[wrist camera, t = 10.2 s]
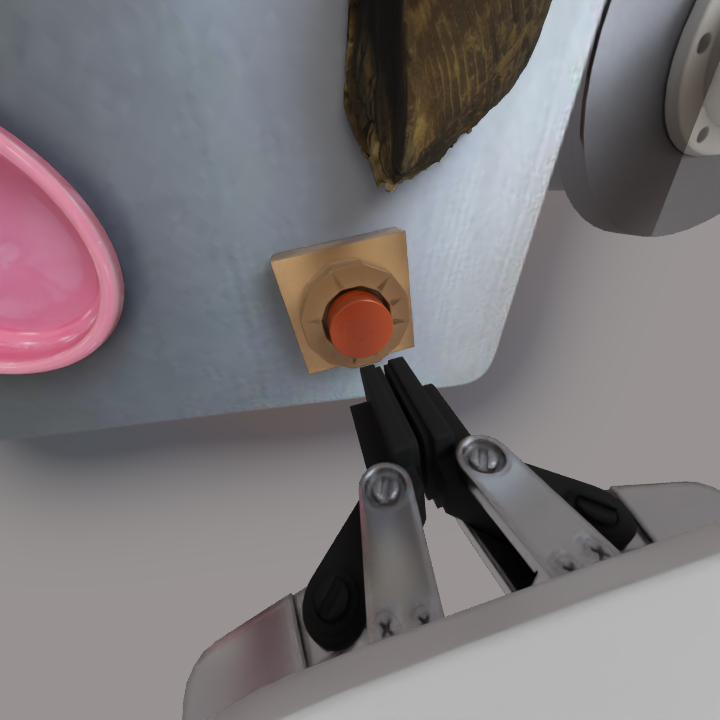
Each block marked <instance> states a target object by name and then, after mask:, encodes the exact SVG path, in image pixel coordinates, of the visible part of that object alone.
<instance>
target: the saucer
mask: <svg viewBox="0 0 720 720" xmlns="http://www.w3.org/2000/svg"><path fill="white" fill-rule="evenodd" d="M123 303H124V282H123V275H122V270H121V267H120V263H119V260H118V257H117V255H116V252H115V249H114V247H113V245H112V243H111V241H110V239H109V237H108V235H107V233H106V232H105V230H104V228H103V226H102V225H101V223H100V222H99V220H98V219H97V217H96V216H95V214H94V213H93V212H92V210H91V209H90V207H89V206H88V205H87V203H86V202H85V201H84V200H83V198H82V197H81V196H80V195H79V194H78V192H77V191H76V190H75V189H74V188H73V187H72V186H71V185H70V184H69V183H68V182H67V181H66V180H65V179H64V178H63V177H62V176H61V175H60V174H59V173H58V172H57V171H56V170H55V169H54V168H53V167H52V166H51V165H50V164H49V163H48V162H46V161H45V160H44V159H43V158H42V157H41V156H39V155H38V154H37V153H36V152H35V151H33V150H32V149H31V148H30V147H28V146H27V145H26V144H25V143H23V142H22V141H21V140H19V139H18V138H17V137H15V136H14V135H13V134H11V133H10V132H8V131H7V130H5V129H4V128H2V127H1V126H0V374H29V373H39V372H46V371H51V370H55V369H59V368H62V367H65V366H68V365H70V364H73V363H75V362H77V361H79V360H81V359H83V358H85V357H86V356H88V355H90V354H91V353H92V352H94V351H95V350H96V349H97V348H98V347H99V346H101V345H102V344H103V343H104V342H105V341H106V340H107V339H108V338H109V336H110V335H111V334H112V332H113V331H114V329H115V328H116V326H117V324H118V322H119V319H120V317H121V313H122V309H123Z"/></svg>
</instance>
